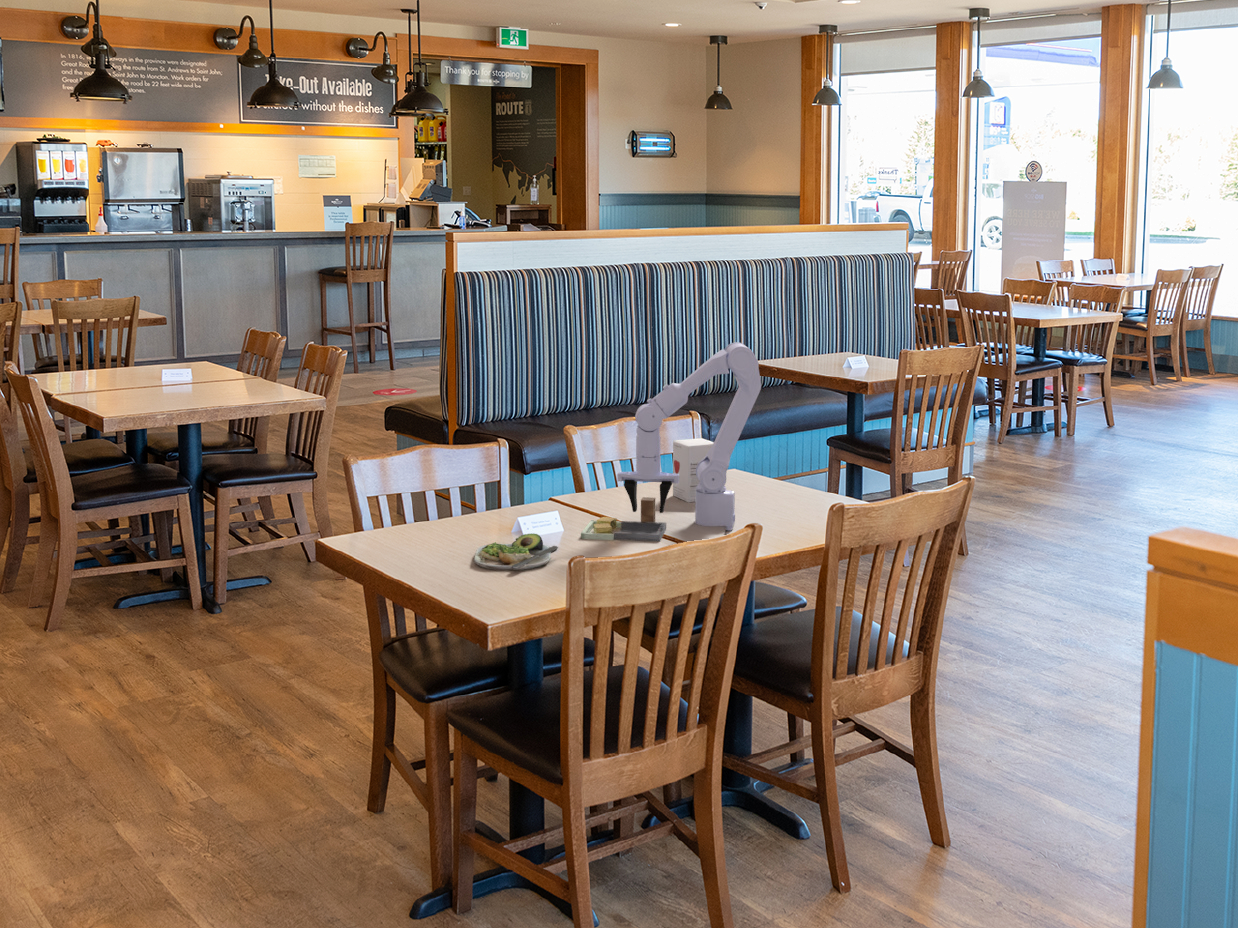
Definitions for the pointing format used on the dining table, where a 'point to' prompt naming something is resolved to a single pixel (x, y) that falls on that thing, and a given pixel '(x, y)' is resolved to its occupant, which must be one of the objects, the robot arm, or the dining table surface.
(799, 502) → the dining table surface
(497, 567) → the salad plate
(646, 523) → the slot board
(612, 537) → the tray
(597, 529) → the chip
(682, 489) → the supplement box
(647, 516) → the brown block with peg
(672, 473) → the robot arm
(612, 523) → the brushed gold cube
